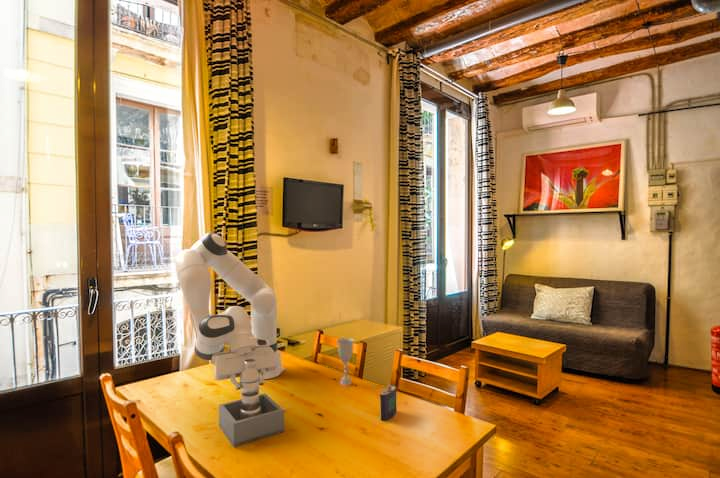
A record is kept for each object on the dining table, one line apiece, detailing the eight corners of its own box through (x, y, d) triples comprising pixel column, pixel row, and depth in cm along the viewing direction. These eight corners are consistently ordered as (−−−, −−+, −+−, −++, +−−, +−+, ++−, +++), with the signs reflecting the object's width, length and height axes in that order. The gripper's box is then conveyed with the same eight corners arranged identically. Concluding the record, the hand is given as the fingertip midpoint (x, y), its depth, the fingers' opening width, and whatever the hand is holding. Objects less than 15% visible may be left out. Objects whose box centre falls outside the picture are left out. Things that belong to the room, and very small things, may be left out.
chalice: (346, 378, 173) (346, 337, 173) (357, 382, 169) (357, 340, 168) (333, 383, 168) (333, 340, 168) (344, 387, 163) (344, 343, 163)
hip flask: (391, 409, 143) (391, 380, 143) (399, 411, 141) (398, 381, 141) (378, 420, 135) (378, 388, 135) (386, 422, 133) (386, 390, 133)
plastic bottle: (256, 427, 126) (255, 364, 126) (236, 425, 127) (235, 363, 127) (264, 418, 132) (264, 358, 132) (245, 416, 134) (245, 357, 133)
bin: (218, 425, 132) (218, 404, 132) (265, 413, 141) (265, 393, 141) (233, 447, 119) (233, 423, 119) (284, 431, 128) (283, 409, 128)
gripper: (212, 348, 130) (217, 388, 122) (273, 339, 140) (282, 376, 132) (209, 358, 134) (215, 397, 126) (269, 349, 144) (278, 385, 136)
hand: (250, 386), depth 129 cm, fingers closed on plastic bottle, 6 cm apart
